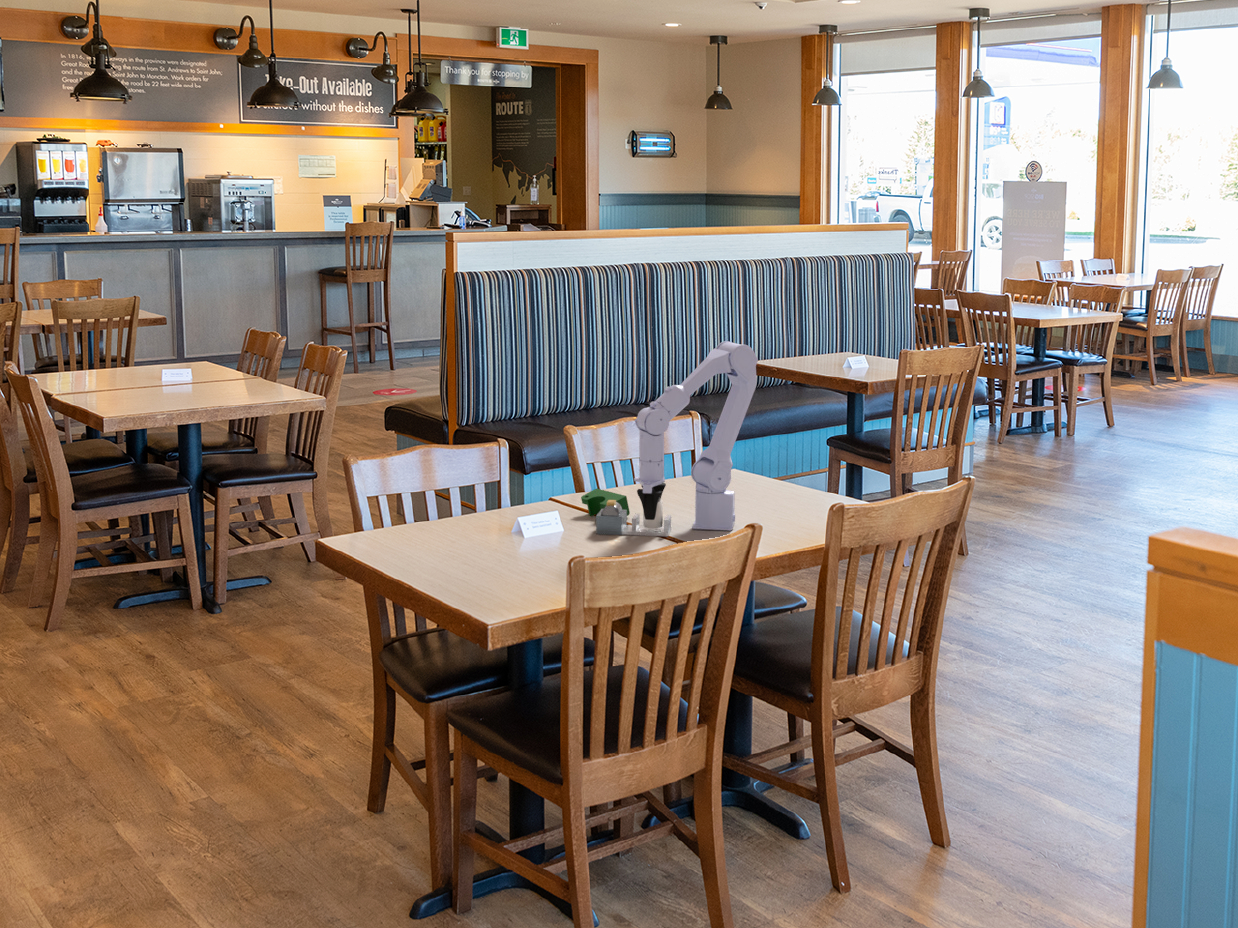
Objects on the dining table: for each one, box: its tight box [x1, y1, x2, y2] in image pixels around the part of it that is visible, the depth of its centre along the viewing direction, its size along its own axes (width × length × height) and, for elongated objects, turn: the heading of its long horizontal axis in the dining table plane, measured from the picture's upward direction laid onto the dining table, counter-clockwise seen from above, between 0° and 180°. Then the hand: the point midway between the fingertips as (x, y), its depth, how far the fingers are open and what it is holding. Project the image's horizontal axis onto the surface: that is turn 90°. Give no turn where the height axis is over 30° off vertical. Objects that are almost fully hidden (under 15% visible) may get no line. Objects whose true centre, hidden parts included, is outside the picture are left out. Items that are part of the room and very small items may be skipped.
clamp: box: [580, 488, 631, 517], centre depth 302 cm, size 12×6×9 cm, turn 35°
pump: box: [642, 497, 664, 528], centre depth 286 cm, size 4×4×7 cm
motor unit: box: [595, 500, 672, 537], centre depth 287 cm, size 17×7×7 cm, turn 80°
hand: (651, 516), depth 287 cm, fingers closed on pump, 4 cm apart
